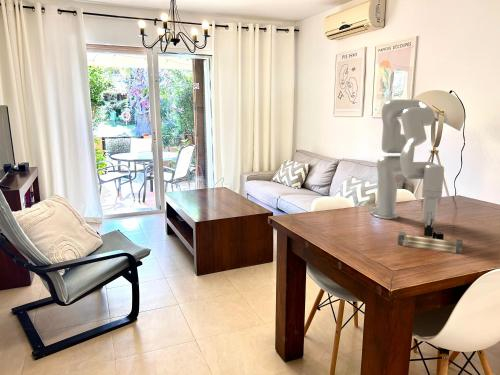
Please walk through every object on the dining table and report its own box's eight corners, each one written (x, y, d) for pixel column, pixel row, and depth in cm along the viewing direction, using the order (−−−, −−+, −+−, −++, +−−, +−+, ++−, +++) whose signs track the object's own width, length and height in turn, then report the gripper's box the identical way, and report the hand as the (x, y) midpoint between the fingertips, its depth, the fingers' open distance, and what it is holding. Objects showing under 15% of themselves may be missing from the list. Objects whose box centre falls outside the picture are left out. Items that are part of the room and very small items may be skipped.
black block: (452, 248, 151) (453, 237, 150) (433, 248, 152) (434, 237, 151) (440, 238, 163) (441, 228, 162) (423, 237, 164) (424, 227, 163)
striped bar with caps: (397, 244, 154) (398, 235, 153) (399, 240, 159) (399, 231, 158) (461, 254, 143) (462, 244, 142) (461, 249, 148) (462, 239, 147)
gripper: (423, 189, 166) (420, 229, 169) (420, 196, 153) (417, 239, 156) (442, 191, 162) (438, 232, 166) (441, 198, 149) (437, 242, 153)
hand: (428, 235), depth 161 cm, fingers closed
